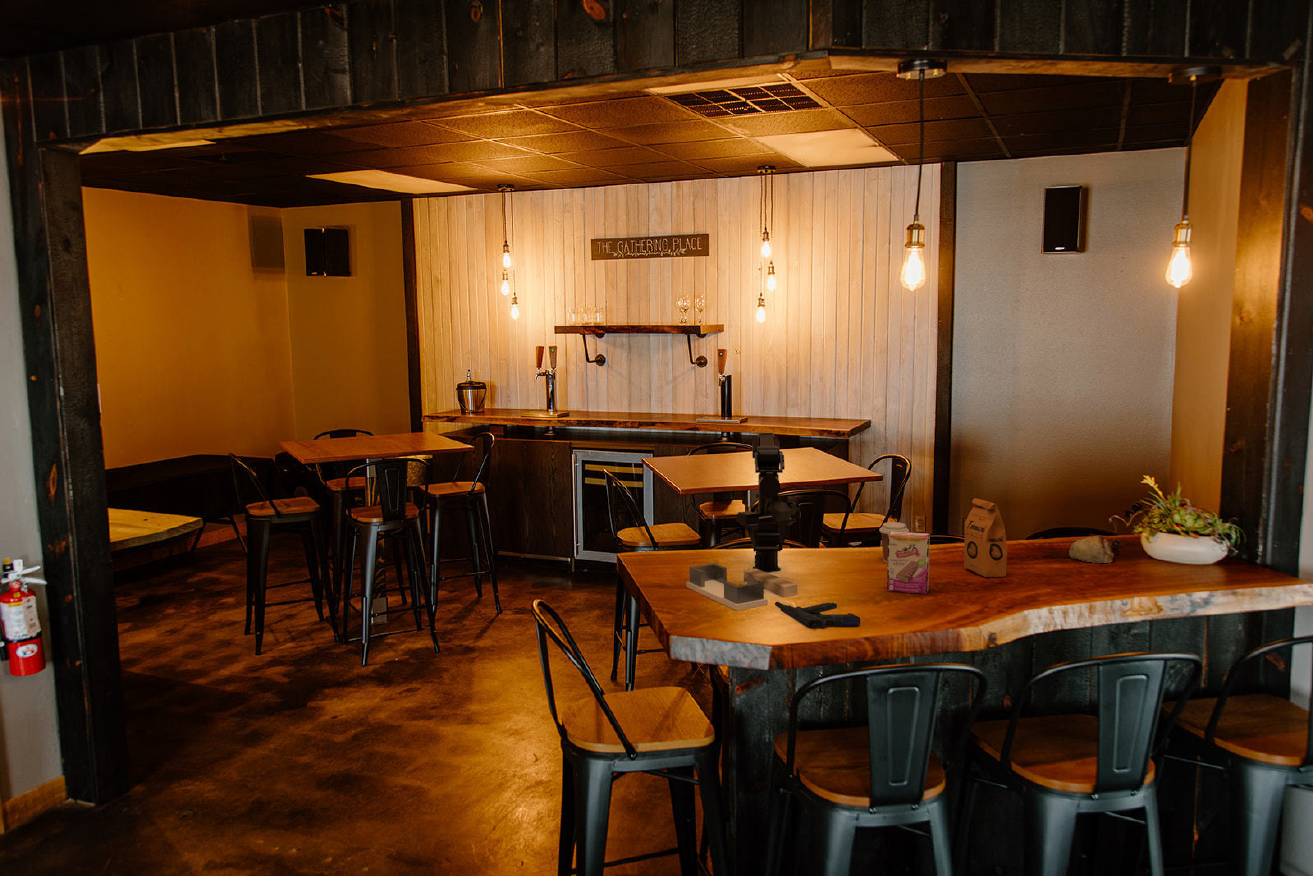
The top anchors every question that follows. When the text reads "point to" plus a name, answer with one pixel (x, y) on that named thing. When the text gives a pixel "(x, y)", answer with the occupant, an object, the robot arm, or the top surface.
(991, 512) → the coffee package
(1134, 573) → the top surface
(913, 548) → the candy bar box
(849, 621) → the gun
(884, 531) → the coffee cup
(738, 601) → the end caps
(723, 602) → the end-cap board
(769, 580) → the beige rectangular bar
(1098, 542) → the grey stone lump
